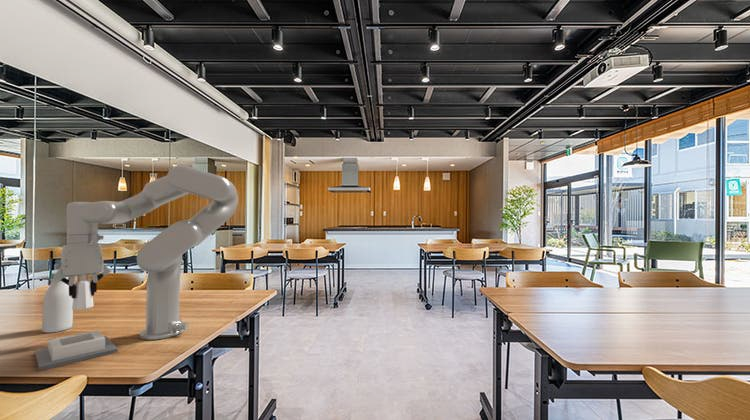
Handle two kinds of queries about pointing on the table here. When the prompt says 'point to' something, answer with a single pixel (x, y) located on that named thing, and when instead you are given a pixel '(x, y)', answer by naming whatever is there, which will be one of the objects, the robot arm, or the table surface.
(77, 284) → the salt shaker
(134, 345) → the table surface
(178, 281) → the robot arm
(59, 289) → the milk bottle
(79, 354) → the socket
